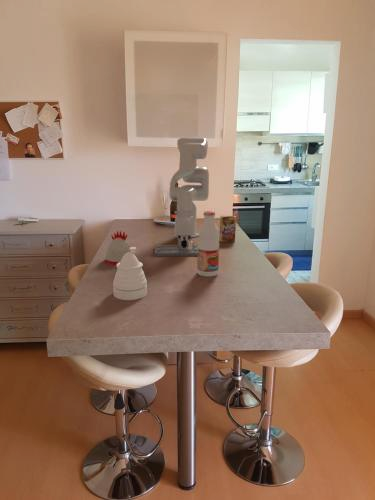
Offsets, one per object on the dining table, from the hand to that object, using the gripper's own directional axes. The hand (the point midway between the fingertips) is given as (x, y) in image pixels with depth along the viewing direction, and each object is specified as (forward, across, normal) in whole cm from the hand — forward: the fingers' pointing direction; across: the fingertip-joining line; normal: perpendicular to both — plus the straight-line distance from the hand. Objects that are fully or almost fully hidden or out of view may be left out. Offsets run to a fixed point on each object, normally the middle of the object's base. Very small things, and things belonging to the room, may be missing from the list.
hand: (184, 247), depth 205 cm
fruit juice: (+3, +8, -34) cm, 35 cm away
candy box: (+3, +27, +24) cm, 37 cm away
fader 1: (+1, -2, +7) cm, 7 cm away
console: (+3, -4, +2) cm, 5 cm away
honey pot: (+3, -25, -56) cm, 61 cm away
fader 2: (+1, +3, 0) cm, 3 cm away
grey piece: (+3, -33, -13) cm, 35 cm away
